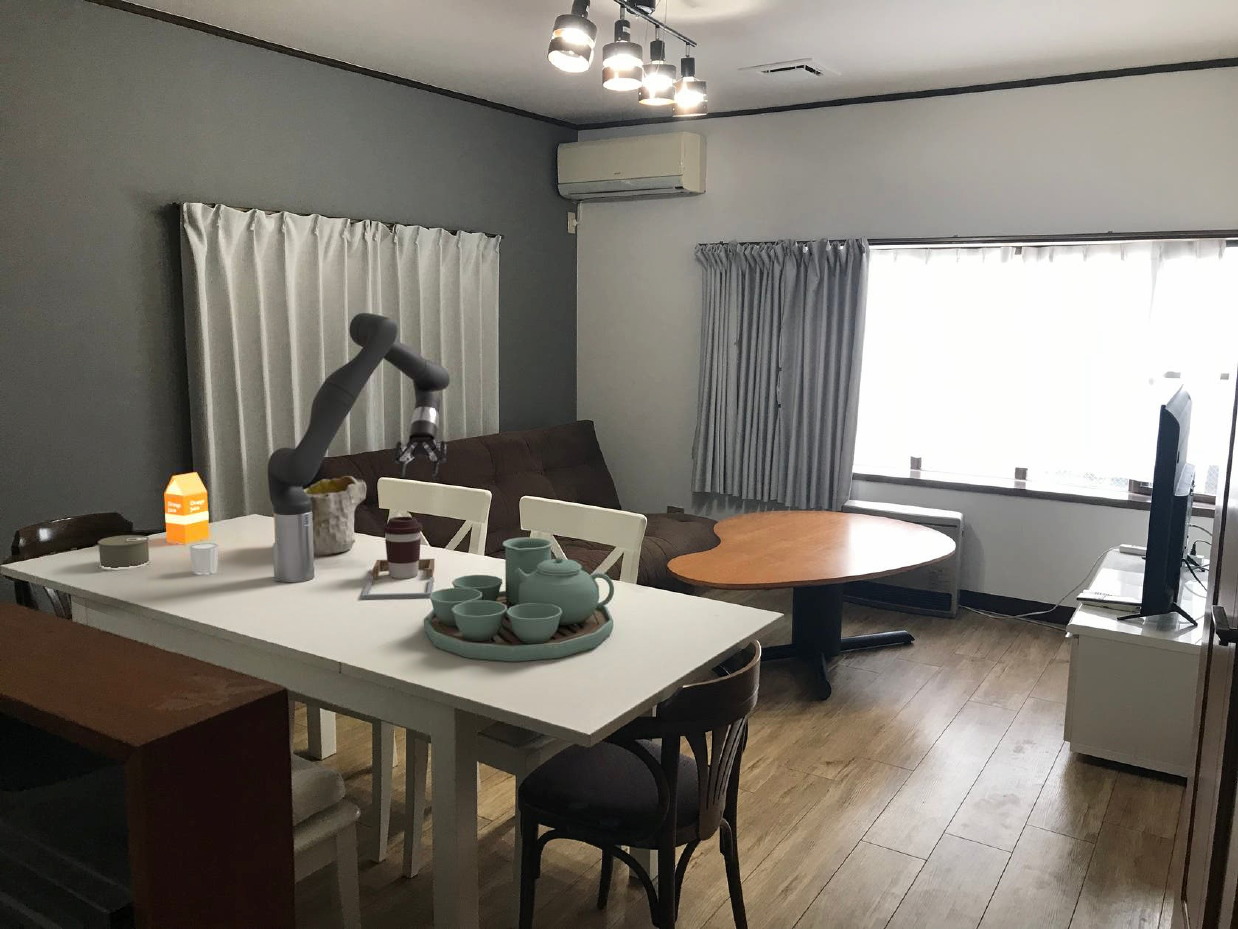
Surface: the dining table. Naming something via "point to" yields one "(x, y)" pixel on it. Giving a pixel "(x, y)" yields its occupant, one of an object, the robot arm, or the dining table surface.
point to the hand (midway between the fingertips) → (417, 474)
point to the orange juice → (186, 509)
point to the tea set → (522, 608)
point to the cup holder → (421, 565)
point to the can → (124, 551)
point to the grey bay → (396, 595)
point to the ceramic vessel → (334, 513)
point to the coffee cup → (403, 546)
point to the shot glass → (204, 558)
